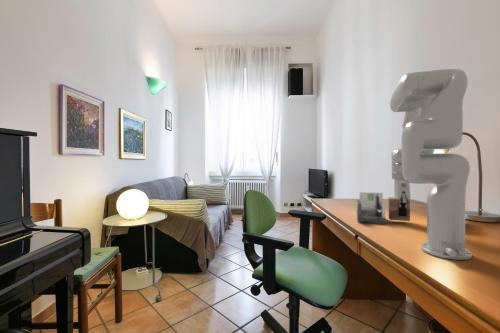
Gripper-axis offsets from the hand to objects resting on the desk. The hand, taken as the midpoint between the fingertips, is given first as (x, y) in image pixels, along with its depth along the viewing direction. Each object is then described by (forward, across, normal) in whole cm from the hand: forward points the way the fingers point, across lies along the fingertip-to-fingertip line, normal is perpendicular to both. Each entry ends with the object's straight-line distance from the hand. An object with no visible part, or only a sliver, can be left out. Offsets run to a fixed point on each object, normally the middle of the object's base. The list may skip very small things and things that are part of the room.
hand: (401, 214), depth 115 cm
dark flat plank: (+2, +4, +9) cm, 10 cm away
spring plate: (+2, 0, +9) cm, 9 cm away
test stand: (+4, 0, +13) cm, 14 cm away
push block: (+2, 0, +1) cm, 3 cm away
